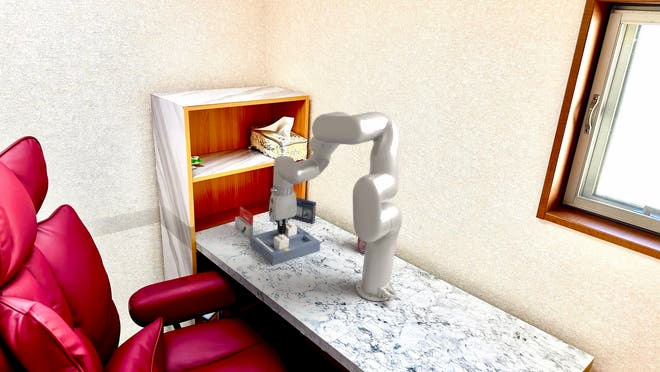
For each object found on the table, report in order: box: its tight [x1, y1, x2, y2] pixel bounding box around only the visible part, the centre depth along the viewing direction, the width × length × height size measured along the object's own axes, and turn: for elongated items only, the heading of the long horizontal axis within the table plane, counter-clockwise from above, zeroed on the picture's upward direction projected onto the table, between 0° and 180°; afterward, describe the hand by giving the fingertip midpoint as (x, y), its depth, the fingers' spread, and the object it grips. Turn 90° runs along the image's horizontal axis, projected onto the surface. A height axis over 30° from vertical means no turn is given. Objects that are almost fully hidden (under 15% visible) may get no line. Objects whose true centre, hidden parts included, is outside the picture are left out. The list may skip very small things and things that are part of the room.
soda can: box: [356, 236, 366, 255], centre depth 168 cm, size 7×7×12 cm
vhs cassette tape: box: [290, 196, 317, 225], centre depth 191 cm, size 18×3×10 cm, turn 64°
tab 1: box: [274, 235, 289, 251], centre depth 160 cm, size 4×4×6 cm
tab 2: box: [283, 222, 298, 237], centre depth 170 cm, size 4×4×6 cm
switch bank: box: [249, 224, 321, 266], centre depth 166 cm, size 17×21×4 cm
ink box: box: [234, 205, 254, 239], centre depth 175 cm, size 2×11×10 cm, turn 40°
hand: (281, 232), depth 168 cm, fingers closed
